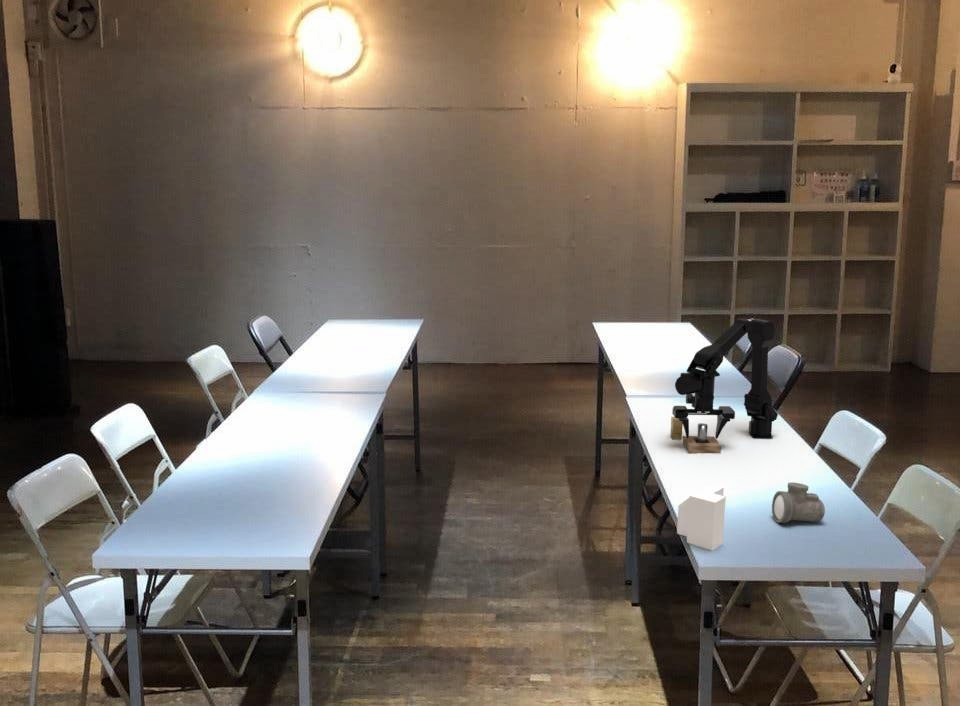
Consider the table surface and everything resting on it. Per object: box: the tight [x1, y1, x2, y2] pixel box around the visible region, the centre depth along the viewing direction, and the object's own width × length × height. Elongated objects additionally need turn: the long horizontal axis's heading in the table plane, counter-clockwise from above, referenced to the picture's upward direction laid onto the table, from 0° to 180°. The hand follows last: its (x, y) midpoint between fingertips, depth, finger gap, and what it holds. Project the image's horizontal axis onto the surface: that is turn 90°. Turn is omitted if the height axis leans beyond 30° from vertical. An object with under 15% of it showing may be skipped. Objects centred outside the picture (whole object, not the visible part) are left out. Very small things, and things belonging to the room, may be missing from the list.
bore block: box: [682, 435, 722, 454], centre depth 296 cm, size 10×10×3 cm
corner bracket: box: [676, 484, 727, 551], centre depth 226 cm, size 11×11×12 cm
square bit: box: [669, 416, 684, 441], centre depth 307 cm, size 3×3×7 cm
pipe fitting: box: [771, 481, 826, 524], centre depth 237 cm, size 12×8×10 cm
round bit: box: [696, 422, 709, 443], centre depth 296 cm, size 3×3×8 cm
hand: (701, 438), depth 296 cm, fingers open, 9 cm apart
